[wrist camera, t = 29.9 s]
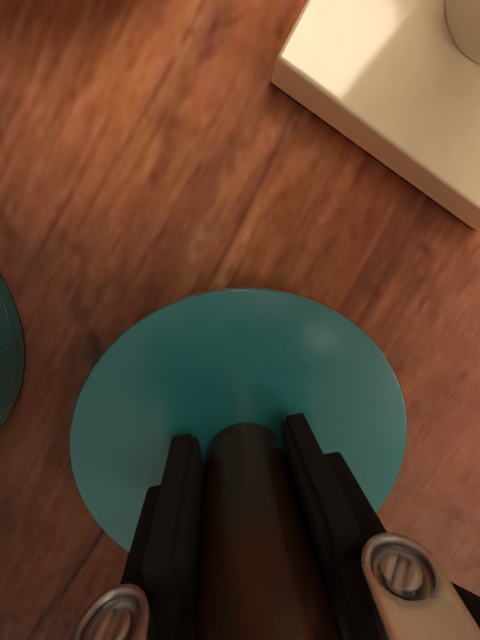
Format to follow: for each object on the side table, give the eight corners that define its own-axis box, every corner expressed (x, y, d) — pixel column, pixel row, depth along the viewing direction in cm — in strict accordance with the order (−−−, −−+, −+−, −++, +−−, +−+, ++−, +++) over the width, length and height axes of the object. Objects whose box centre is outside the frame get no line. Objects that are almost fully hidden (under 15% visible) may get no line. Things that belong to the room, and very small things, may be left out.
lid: (39, 315, 9) (-345, 472, 3) (384, 256, 10) (708, 284, 3) (129, 577, 12) (30, 946, 6) (394, 525, 13) (579, 821, 6)
